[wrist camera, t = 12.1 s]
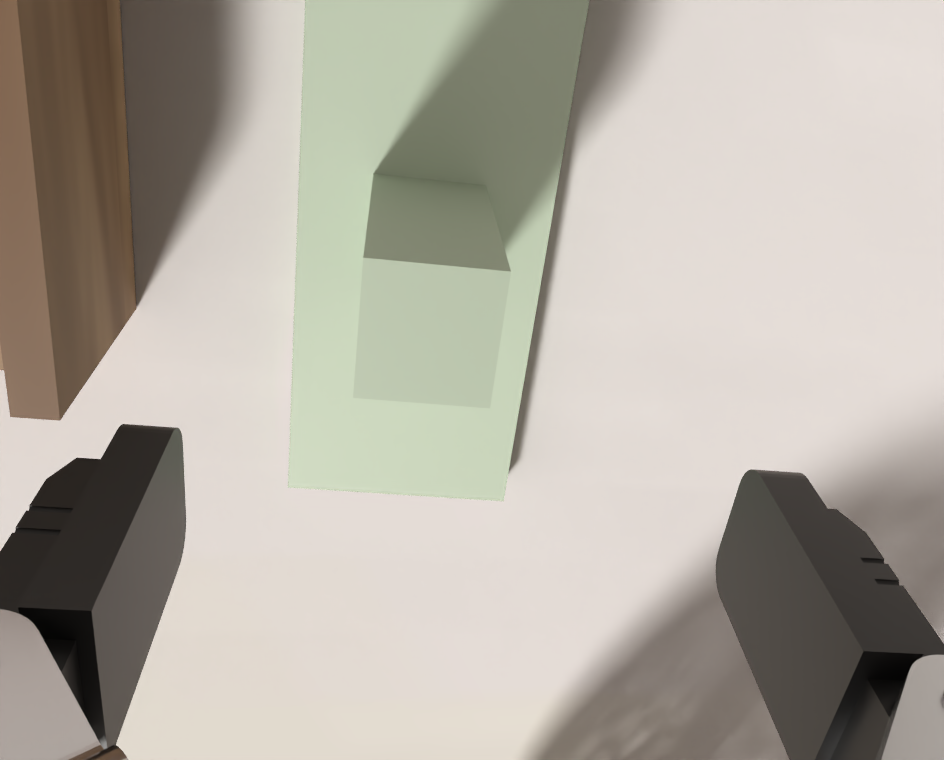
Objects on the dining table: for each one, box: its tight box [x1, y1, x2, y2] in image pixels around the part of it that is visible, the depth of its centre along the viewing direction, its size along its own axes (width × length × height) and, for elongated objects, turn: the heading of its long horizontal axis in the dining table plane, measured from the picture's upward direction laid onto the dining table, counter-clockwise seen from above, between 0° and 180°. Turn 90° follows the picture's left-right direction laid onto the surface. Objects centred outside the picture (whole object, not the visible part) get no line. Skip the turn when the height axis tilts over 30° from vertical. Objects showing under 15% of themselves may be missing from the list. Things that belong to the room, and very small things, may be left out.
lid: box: [288, 0, 589, 501], centre depth 21 cm, size 6×16×7 cm, turn 173°
